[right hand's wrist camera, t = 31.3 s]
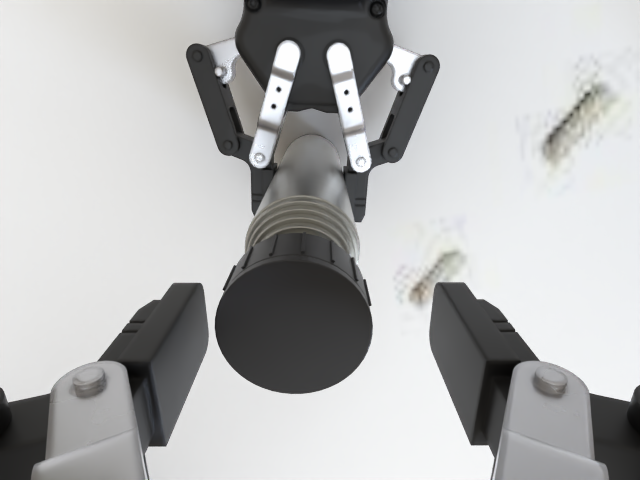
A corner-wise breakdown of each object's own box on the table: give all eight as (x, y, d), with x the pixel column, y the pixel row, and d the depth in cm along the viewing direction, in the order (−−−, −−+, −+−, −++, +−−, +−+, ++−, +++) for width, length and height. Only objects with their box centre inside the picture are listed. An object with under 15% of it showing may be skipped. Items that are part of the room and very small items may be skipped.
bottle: (347, 144, 30) (399, 269, 10) (329, 196, 32) (345, 395, 12) (292, 126, 30) (236, 221, 10) (277, 180, 31) (201, 359, 11)
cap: (368, 347, 13) (376, 390, 11) (240, 356, 13) (227, 399, 11) (363, 226, 11) (371, 253, 9) (218, 236, 11) (199, 264, 9)
